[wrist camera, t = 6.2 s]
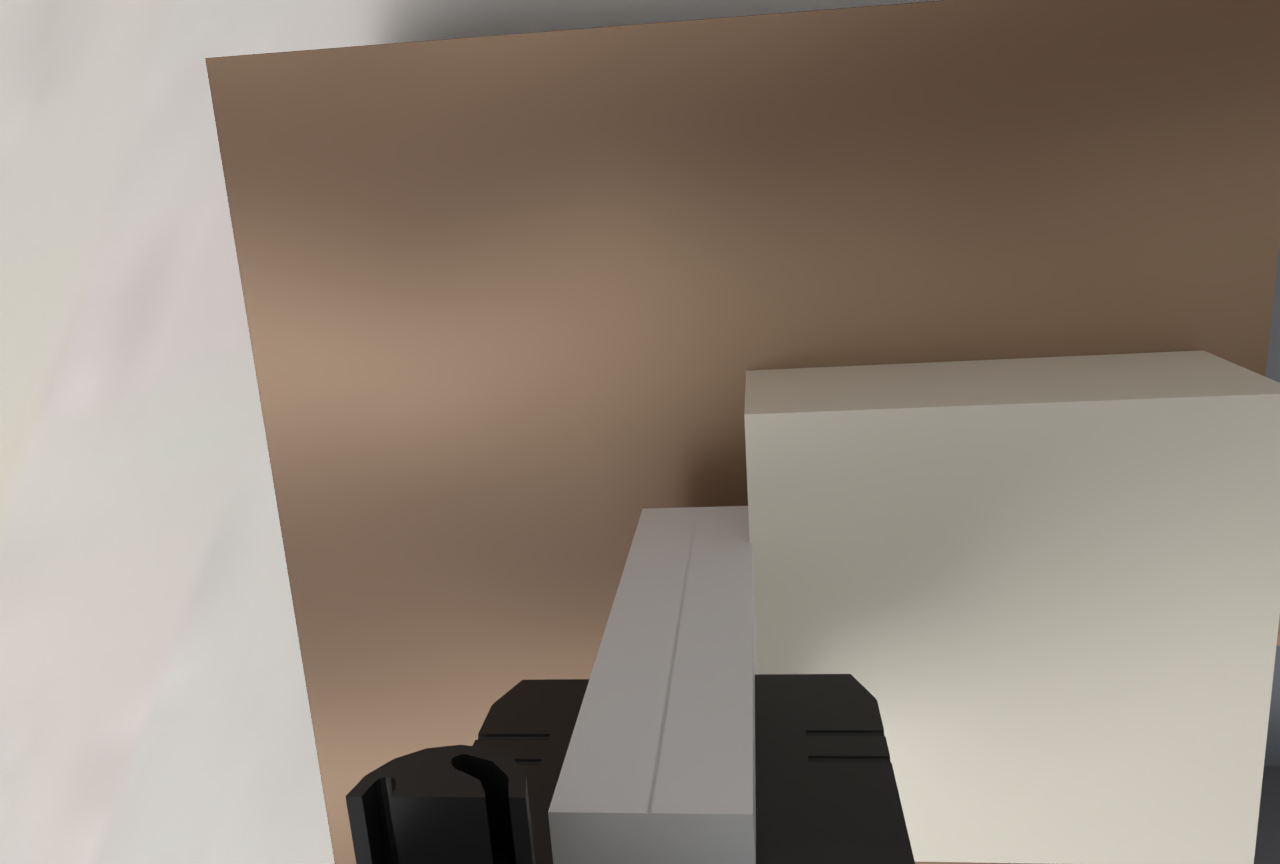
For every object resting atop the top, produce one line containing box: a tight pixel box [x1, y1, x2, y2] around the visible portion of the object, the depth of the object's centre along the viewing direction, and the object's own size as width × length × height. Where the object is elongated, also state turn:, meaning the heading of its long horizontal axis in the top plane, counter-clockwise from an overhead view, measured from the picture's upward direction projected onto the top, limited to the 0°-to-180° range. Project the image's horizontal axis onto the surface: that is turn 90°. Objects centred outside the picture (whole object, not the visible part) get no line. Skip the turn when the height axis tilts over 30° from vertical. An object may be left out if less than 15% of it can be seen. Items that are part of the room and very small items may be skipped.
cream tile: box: [744, 350, 1280, 864], centre depth 13 cm, size 6×6×2 cm
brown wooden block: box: [205, 0, 1280, 864], centre depth 18 cm, size 15×14×6 cm
